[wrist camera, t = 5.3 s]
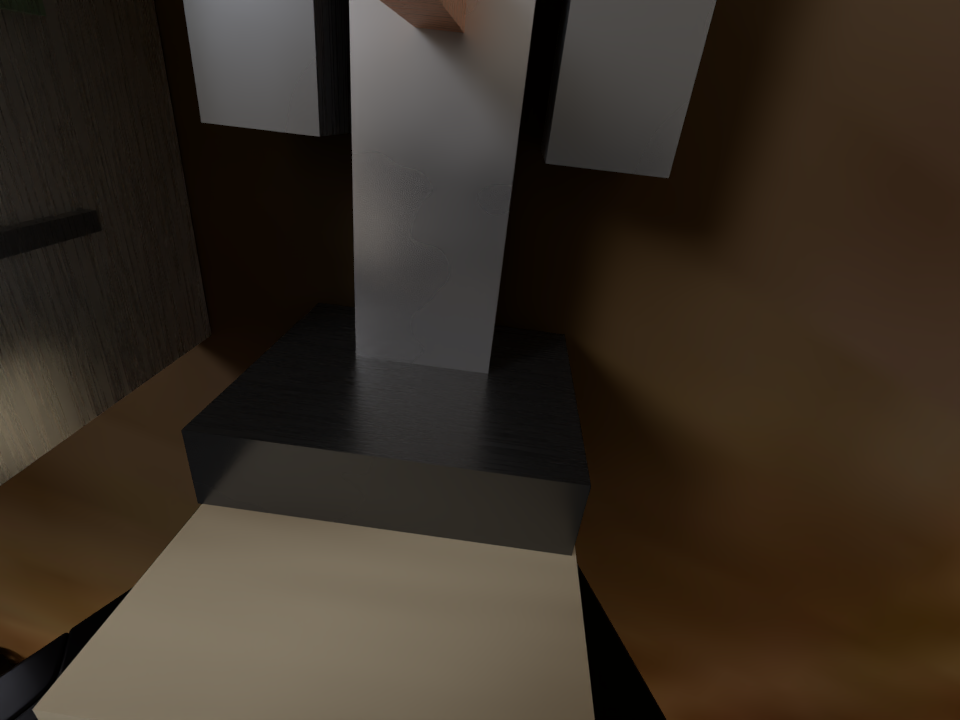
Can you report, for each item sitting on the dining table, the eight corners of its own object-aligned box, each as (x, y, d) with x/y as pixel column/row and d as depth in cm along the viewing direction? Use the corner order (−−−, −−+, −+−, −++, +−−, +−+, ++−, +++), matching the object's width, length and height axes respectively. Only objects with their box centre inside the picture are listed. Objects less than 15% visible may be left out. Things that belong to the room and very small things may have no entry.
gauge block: (522, 582, 12) (519, 972, 6) (320, 552, 12) (152, 912, 7) (559, 410, 9) (602, 798, 4) (307, 376, 10) (31, 709, 4)
